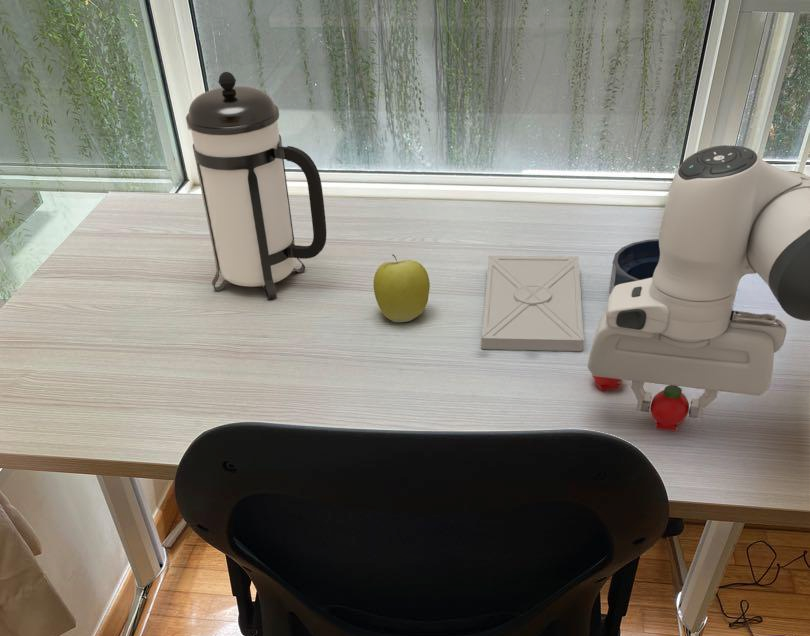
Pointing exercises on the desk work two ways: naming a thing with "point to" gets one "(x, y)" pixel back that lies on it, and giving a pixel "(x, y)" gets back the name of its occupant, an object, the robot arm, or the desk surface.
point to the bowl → (635, 262)
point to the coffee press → (250, 186)
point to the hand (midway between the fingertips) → (668, 412)
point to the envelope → (533, 304)
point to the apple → (401, 289)
